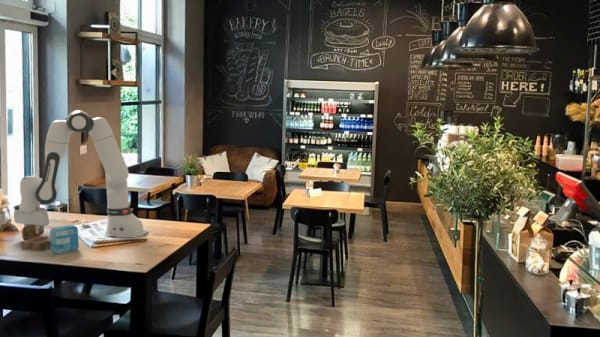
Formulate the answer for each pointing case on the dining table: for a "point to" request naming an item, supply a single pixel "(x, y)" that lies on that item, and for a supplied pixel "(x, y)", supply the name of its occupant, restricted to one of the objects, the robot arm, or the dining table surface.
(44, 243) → the walnut block
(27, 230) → the tin
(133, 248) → the dining table surface
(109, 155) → the robot arm
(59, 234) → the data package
